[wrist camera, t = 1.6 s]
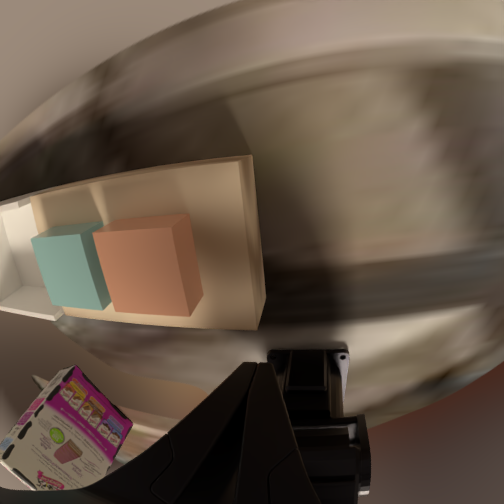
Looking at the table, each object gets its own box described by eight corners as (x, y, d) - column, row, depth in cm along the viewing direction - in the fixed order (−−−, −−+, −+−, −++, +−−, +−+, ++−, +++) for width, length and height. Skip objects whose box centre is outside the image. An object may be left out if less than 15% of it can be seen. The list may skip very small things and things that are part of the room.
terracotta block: (203, 294, 18) (190, 317, 16) (133, 292, 19) (115, 311, 17) (189, 213, 17) (171, 227, 14) (115, 219, 18) (92, 233, 15)
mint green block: (121, 292, 20) (102, 310, 17) (71, 289, 21) (52, 305, 18) (103, 220, 18) (79, 234, 16) (52, 226, 19) (30, 238, 17)
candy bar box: (59, 368, 32) (-11, 453, 18) (76, 362, 31) (-2, 458, 16) (114, 426, 35) (63, 514, 20) (135, 424, 33) (82, 523, 19)
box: (88, 292, 26) (55, 320, 21) (25, 287, 28) (-4, 309, 23) (59, 185, 22) (17, 201, 17) (0, 201, 24) (-35, 216, 20)
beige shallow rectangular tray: (266, 297, 22) (257, 330, 19) (91, 292, 26) (65, 315, 22) (252, 154, 19) (238, 161, 15) (62, 184, 22) (29, 196, 18)
